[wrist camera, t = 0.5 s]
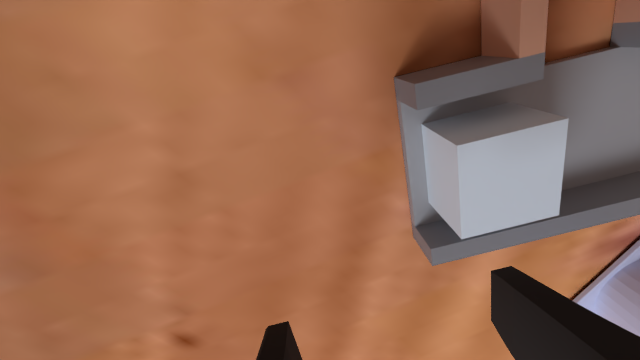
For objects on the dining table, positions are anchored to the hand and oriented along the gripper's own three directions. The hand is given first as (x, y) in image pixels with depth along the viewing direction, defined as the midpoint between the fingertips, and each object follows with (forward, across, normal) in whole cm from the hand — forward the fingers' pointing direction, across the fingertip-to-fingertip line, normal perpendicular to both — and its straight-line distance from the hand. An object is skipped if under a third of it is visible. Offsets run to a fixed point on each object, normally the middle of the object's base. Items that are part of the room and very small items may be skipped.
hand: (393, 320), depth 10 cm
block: (+10, -8, 0) cm, 12 cm away
